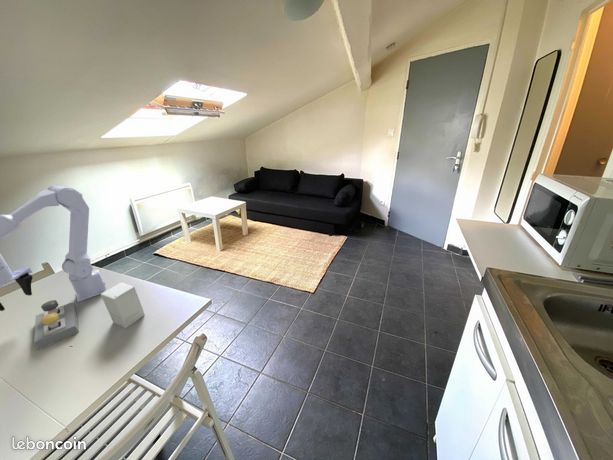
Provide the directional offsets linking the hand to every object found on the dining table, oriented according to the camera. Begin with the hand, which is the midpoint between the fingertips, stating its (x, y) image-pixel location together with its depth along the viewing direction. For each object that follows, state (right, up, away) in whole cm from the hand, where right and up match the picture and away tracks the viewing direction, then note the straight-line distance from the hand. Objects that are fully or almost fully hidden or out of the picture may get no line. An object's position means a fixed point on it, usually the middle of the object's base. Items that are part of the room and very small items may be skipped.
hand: (15, 302), depth 88 cm
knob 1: (+9, -6, +4) cm, 12 cm away
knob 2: (+15, -8, -1) cm, 17 cm away
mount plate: (+12, -9, +3) cm, 15 cm away
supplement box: (+34, -8, +6) cm, 36 cm away
